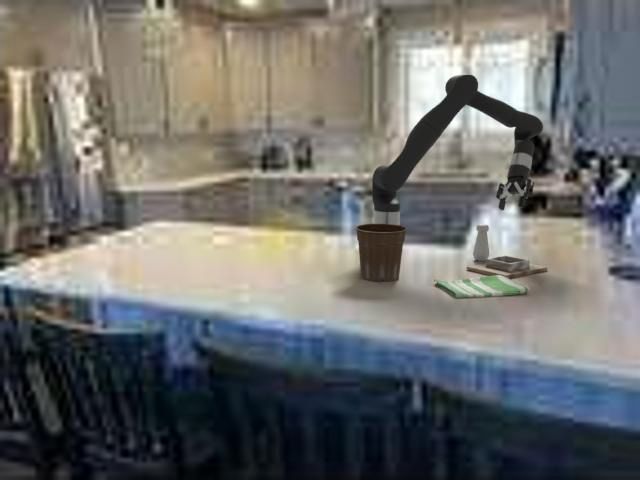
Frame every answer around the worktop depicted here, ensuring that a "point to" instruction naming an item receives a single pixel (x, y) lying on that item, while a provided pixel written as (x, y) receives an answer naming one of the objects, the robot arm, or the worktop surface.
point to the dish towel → (482, 287)
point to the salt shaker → (481, 243)
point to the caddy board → (507, 267)
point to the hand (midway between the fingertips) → (510, 208)
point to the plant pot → (380, 251)
